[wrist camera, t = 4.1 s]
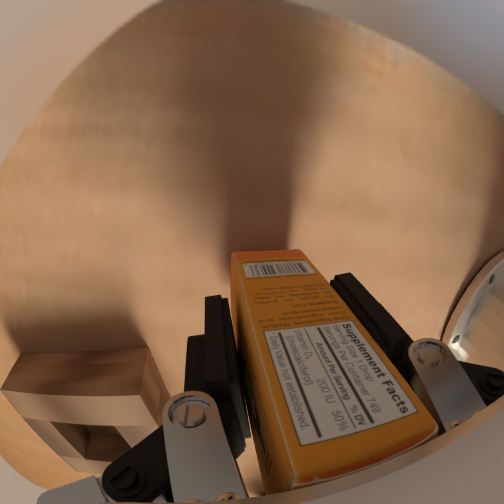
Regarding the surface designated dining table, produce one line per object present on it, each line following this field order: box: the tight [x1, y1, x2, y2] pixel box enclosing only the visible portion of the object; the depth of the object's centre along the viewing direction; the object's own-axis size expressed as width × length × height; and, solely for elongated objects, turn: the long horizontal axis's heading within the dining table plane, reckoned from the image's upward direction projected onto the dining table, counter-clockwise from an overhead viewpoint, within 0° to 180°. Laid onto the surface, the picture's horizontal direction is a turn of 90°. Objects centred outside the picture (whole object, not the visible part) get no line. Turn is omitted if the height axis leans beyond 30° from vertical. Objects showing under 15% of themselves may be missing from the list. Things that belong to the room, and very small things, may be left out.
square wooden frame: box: [0, 347, 171, 475], centre depth 15 cm, size 10×10×4 cm
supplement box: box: [230, 249, 439, 495], centre depth 9 cm, size 3×4×10 cm
